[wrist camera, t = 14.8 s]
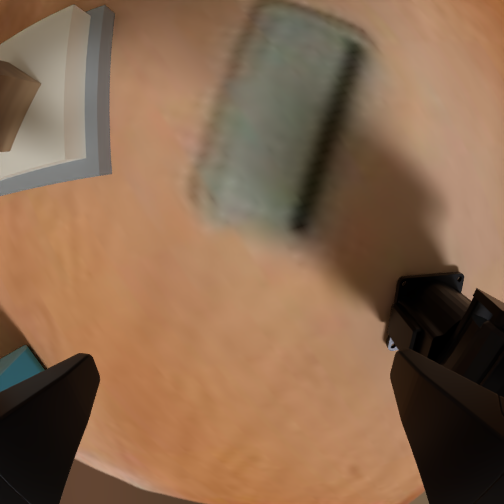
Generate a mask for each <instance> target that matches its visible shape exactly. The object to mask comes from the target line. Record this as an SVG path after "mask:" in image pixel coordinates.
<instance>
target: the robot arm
mask: <svg viewBox="0 0 504 504" xmlns="http://www.w3.org/2000/svg"><path fill="white" fill-rule="evenodd" d="M458 277H459V279H458ZM457 279H458V280H457ZM405 281H406V283H405V284H404V285H403V286H402V284H403V282H405ZM463 281H464V275H463V274H462V273H460V272H451V273H439V274H427V275H414V276H403V277H401V278H399V280H398V282H397V288H396V295H395V301H394V304H393V305H392V309H391V315H390V320H389V326H388V331H387V333H388V340H387V347H388V349H389V350H390V351H394V350H398V351H397V352H396V354H395V357H394V361H393V365H392V369H391V373H390V379H391V383H392V387H393V390H394V394H395V398H396V402H397V406H398V410H399V414H400V418H401V421H402V424H403V427H404V430H405V432H406V435H407V438H408V441H409V443H410V446H411V449H412V452H413V455H414V458H415V461H416V464H417V467H418V470H419V473H420V476H421V479H422V482H423V485H424V488H425V491H426V495H427V498H428V501H429V504H504V303H503V302H501V301H499V300H498V299H496V298H494V297H492V296H490V295H489V294H487V293H485V292H483V291H481V290H479V289H478V288H477V289H476V291H475V293H474V294H473V296H474V297H473V299H472V301H471V300H469V299H468V298H467V297H466V296H464V295H463V294H462V293H461V291H462V286H463ZM393 343H394V345H392V344H393ZM391 345H392V346H391ZM99 383H100V375H99V372H98V370H97V367H96V364H95V362H94V359H93V357H92V356H91V355H90V354H84V353H78V354H76V355H74V356H72V357H70V358H68V359H66V360H64V361H62V362H60V363H58V364H56V365H54V366H52V367H50V368H48V369H46V370H44V371H42V372H40V373H38V374H36V375H34V376H32V377H30V378H28V379H26V380H24V381H22V382H20V383H18V384H16V385H13V386H11V387H9V388H7V389H5V390H3V391H1V392H0V504H59V503H60V500H61V496H62V493H63V490H64V487H65V484H66V481H67V478H68V474H69V472H70V469H71V466H72V463H73V460H74V458H75V455H76V452H77V449H78V447H79V444H80V441H81V439H82V436H83V434H84V431H85V428H86V426H87V423H88V420H89V417H90V414H91V410H92V407H93V403H94V400H95V396H96V393H97V389H98V386H99Z"/></svg>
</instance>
